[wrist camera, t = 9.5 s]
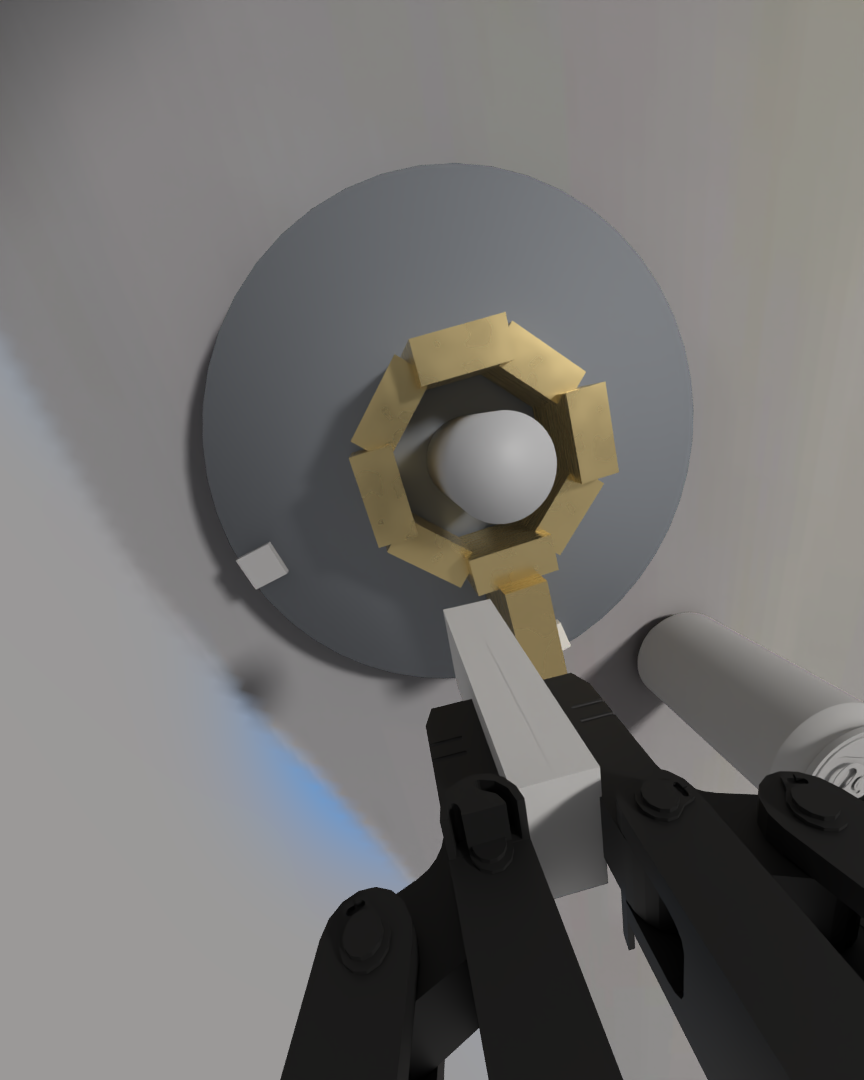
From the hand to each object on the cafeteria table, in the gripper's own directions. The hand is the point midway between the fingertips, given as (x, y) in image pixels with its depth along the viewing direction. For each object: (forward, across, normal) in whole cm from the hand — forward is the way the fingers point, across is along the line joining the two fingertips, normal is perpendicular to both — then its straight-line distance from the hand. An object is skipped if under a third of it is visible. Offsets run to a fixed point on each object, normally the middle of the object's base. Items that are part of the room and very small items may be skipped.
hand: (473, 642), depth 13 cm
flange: (+13, +3, +4) cm, 14 cm away
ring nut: (+10, +3, +2) cm, 11 cm away
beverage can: (+12, +16, -12) cm, 23 cm away
